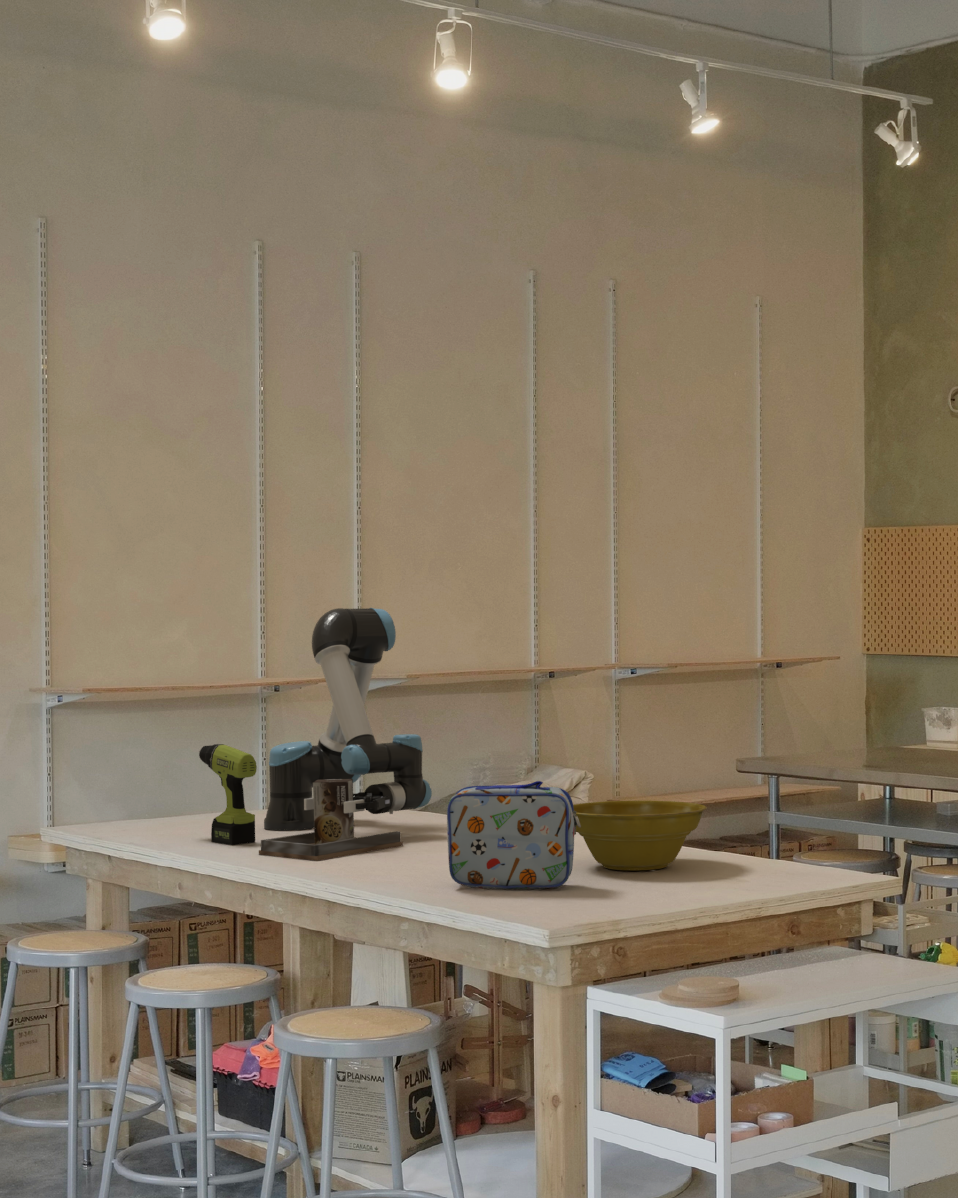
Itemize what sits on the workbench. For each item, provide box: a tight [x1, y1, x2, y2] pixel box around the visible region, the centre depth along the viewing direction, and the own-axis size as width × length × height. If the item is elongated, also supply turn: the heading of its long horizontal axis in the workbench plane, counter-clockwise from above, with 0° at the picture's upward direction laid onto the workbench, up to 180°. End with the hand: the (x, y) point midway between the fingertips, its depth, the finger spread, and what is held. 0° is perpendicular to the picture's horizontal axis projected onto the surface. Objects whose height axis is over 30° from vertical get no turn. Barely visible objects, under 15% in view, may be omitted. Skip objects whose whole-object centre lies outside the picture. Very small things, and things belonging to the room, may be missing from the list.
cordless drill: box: [198, 743, 258, 846], centre depth 397 cm, size 23×7×25 cm, turn 42°
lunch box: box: [446, 780, 581, 890], centre depth 314 cm, size 28×10×22 cm, turn 81°
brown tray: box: [258, 831, 404, 862], centre depth 375 cm, size 20×30×4 cm, turn 141°
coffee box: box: [312, 779, 355, 845], centre depth 376 cm, size 9×6×16 cm
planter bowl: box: [573, 800, 708, 872], centre depth 339 cm, size 32×32×13 cm
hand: (324, 806), depth 373 cm, fingers open, 13 cm apart
